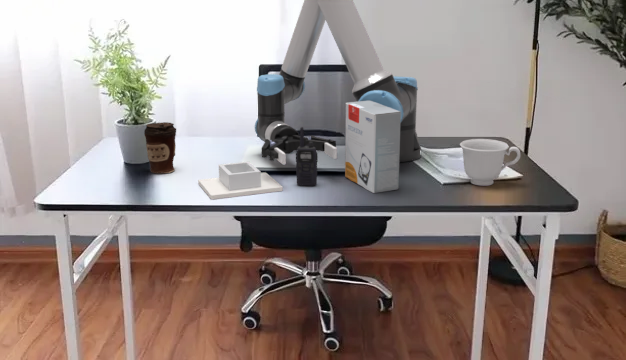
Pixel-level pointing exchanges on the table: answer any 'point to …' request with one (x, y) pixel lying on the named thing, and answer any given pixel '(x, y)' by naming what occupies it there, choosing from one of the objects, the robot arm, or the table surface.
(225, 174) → the charging cradle
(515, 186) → the table surface
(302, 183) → the two-way radio
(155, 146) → the coffee cup
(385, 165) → the hard drive box
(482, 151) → the teacup
